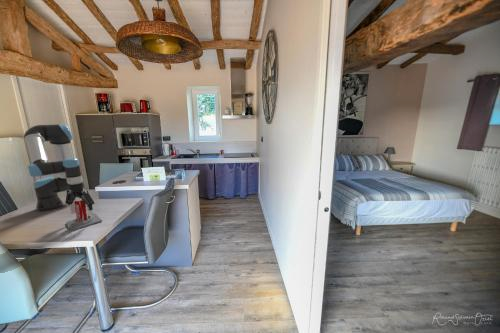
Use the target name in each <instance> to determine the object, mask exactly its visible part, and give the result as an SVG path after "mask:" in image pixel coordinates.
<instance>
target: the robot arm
mask: <svg viewBox="0 0 500 333" xmlns="http://www.w3.org/2000/svg"><path fill="white" fill-rule="evenodd" d="M23 140H24V143H25V144H27V148H28V151H29V156H30V160H31V164H28V165H27V169H28V172H29V176H30V177H31V178H32V177H33V178H34V177H42V178H40V179H36V180H35V181H34V182H33V189H34V193H35V196H36V205H35V208H36V211H37V212H45V211H52V210H54V209H58V208H60V207H62V206H63V205H64V202H63V200H62V199H61V198H60V197H59V194H58V193H63V192H66V196H65V204H67V205H68V207H69V210H70V214H71V215H74V214H76V210H75V204H74V202H75V200H76V199H77V198H78V199H82V200H83V201H84V202H85V203H86V205H87V206H86V207H87V212H88V216H90V215H92V214H94V208H93V205H95V201H94V200H93V198H92V197H91V195H90V193H89V190H88V189H85V190H84V188H85V186H84V184H85V183H84V179H83V175H82V171H81V170H82V169H81V166H80V161H79V159H78V158H77V157H72V156H71V151H70V150H71V149H70V144H71V141H72V140H74V138H73V135H72V132H71V129H70V128H69V126H68V125H67V124H37V125H34V126H31V127H29V128H28V129H27V130H26V131H25V133H24V134H23ZM45 142H49V143H50V145H52V146H53V149H54V154H55V160H56V161H51V162H50V161H49V157H48V154H47V150H46V147H45V144H44V143H45ZM48 175H49V176H48ZM50 175H57V177H54V176H50ZM44 176H47V177H44Z"/></svg>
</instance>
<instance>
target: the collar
mask: <svg viewBox="0 0 500 333" xmlns="http://www.w3.org/2000/svg"><path fill="white" fill-rule="evenodd" d="M88 218H89V219H87V220H84V221H77V217H76V218H74V219H72V220H73V224H74V225H83V224H86V223H89V222H91V221H93V220H94V216H93V215H90V216H88Z"/></svg>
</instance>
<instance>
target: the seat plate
mask: <svg viewBox="0 0 500 333" xmlns="http://www.w3.org/2000/svg"><path fill="white" fill-rule="evenodd" d="M92 215H93V216H94V220H93V221H91V222H89V223H86V224H83V225H74V224H73V220H74V219H71V220H68V221H65V224H66V226H67V228H68V230H69V232H73V231H77V230H80V229H83V228H86V227H89V226H93V225H96V224H99V223H102V222H103V220H102V219H101V218H100V217H99V215H98V214H97V213H93V214H92ZM88 219H89V218H88Z"/></svg>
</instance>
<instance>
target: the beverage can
mask: <svg viewBox="0 0 500 333" xmlns="http://www.w3.org/2000/svg"><path fill="white" fill-rule="evenodd" d="M73 203H74V204H75V210H76V213H75V216H76V218H77V221H84V220H87V219H88V211H87V207H86V206H87V204H86V203H85V202H84V201H83V200H82V199H81V198H76V199H75V200H74V202H73Z"/></svg>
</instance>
